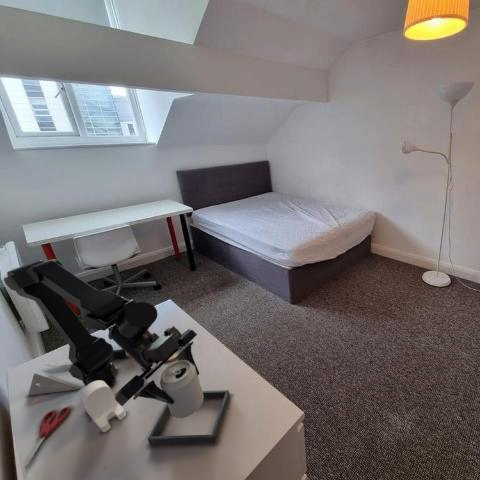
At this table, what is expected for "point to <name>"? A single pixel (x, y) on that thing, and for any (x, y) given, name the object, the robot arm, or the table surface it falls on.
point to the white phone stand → (101, 404)
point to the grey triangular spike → (48, 385)
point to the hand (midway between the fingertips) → (186, 388)
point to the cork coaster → (172, 358)
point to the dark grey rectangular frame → (190, 439)
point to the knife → (67, 362)
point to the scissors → (49, 427)
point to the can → (182, 388)
